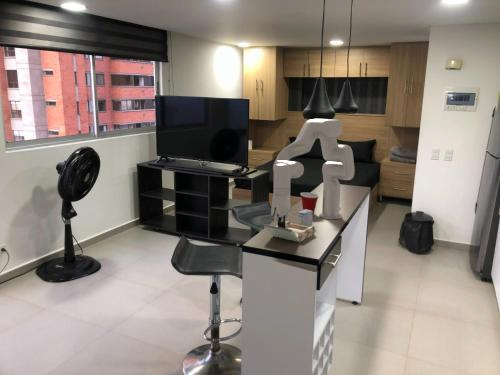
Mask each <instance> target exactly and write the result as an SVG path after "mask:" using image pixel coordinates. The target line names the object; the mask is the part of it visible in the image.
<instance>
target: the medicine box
mask: <svg viewBox="0 0 500 375" xmlns="http://www.w3.org/2000/svg"><path fill="white" fill-rule="evenodd" d="M313 217H314V215H313V211H311V210H306V209H305V210H303V209H302V210H300V211H298V212H297V219H296V220H297V221H296V222H297V225H302V226H307V227H310V226H313Z"/></svg>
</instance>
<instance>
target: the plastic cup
mask: <svg viewBox="0 0 500 375" xmlns="http://www.w3.org/2000/svg"><path fill="white" fill-rule="evenodd" d="M300 197H301V205H302V211H303V210H305V209H306V210H311V211H313V216H314V214H315V210H316V207H317V204H318V203H317V202H318V199H319V197H320V195H319V194H317V193H313V192H300Z"/></svg>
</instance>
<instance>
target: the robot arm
mask: <svg viewBox="0 0 500 375" xmlns="http://www.w3.org/2000/svg"><path fill="white" fill-rule="evenodd" d="M343 129H344V127H343V123H342V121H341V120H339V119H336V118H335V119H332V118H331V119H330V118H329V119H328V118H313V119H308V120H306V121H305V122H304V124H303V125H302V127H301V129H300V131H299V133H298V135H297V136H296V139H295V141H293V142H292V143H290V144H288V145H287V146H285V147H284V148H282V150H280V151H279V153H278V154H277V157H276V158H275V160H274V162H273V165H272V171H273V195H272V198H271V199H272V200H271V210H270V212H271V216H272V217H273V216H274V217H273V219H274V220H275V221H276V222H277V225H278V227H281V228H285V222H286V221H287V217H288V216H289V214H290V212H291V210H292V209H291V208H292V207H291V206H292V205H291V204H292V203H291V179H298V178H300V177H301V176H303V175H304V171H305V168H304V165H303V164H302V162H299V161H295V160H291V159H293V158H294V157H298V156H301V155H304V154H307V153H309V152H311V149H312V147H313V146H314V143H315V142H316V140H317V138H318V139H319V141H320V147H321V153H322V158H323V159H324V160H325V161H326V162H324V163H323V164H322V168H321V170H322V171H321V172H322V179H323V186H322V187H323V189H322V204H321V205H322V210H321V212H319V215H318V216H319V217H320V218H321V219H326V220H339V219H342V218H343V214H341V213H340V211H341V210H342V208H341V205H340V204H341V190H342V188H341V184H340V182H339V180H343V181H350V180H352V179H353V178H354V176H355V171H356V170H355V163H354V152H353V150H352V147H351V146H350V145H347V144H340V143H338V140H337V137H339V136H340V135H341V134H342V132H343Z"/></svg>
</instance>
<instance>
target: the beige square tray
mask: <svg viewBox="0 0 500 375" xmlns="http://www.w3.org/2000/svg"><path fill="white" fill-rule="evenodd" d="M275 226H276V227H278V224H277V225H275ZM285 228H286V229H291V230H293V232H294V233H295V234H296V236H297V237H298V238H299V242H298V243H302V242H304V241H305V240H304V239H306V238H308V237H309V238H311V237H313V236H314V235H315V228H316V227H315V225H312V226H310V227H307V226H302V225H297V224H296V223H292V222H291V221H290V220H286V221H285ZM312 235H313V236H312ZM310 236H311V237H310ZM309 238H308V239H309ZM303 240H304V241H303ZM306 240H307V239H306ZM301 241H302V242H301Z"/></svg>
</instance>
